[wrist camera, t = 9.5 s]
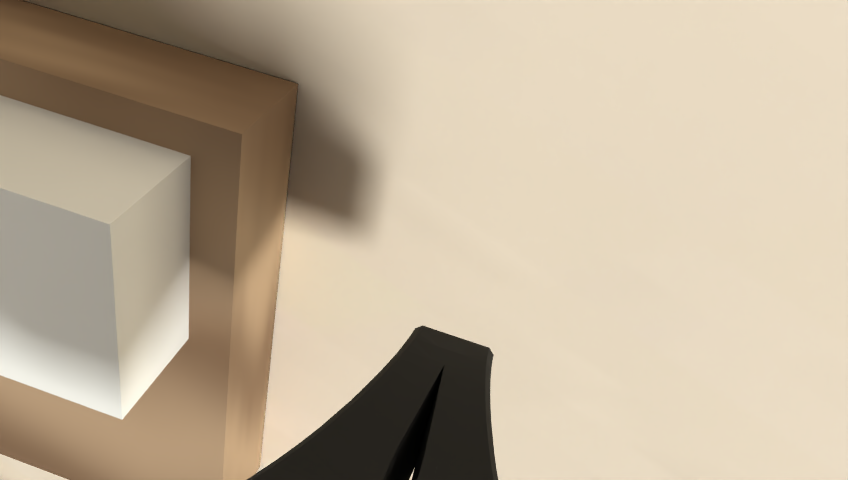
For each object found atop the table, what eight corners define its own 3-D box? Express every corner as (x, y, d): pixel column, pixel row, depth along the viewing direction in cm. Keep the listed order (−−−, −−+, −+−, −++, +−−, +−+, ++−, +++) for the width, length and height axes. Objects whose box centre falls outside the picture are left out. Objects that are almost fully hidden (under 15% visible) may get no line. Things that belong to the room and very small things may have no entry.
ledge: (259, 466, 22) (219, 536, 20) (42, 386, 23) (-17, 447, 21) (297, 83, 15) (241, 133, 13) (-17, -12, 16) (-115, 23, 14)
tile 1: (188, 338, 16) (122, 419, 14) (0, 273, 17) (-89, 342, 15) (190, 156, 14) (109, 224, 12) (-33, 85, 14) (-146, 139, 12)
